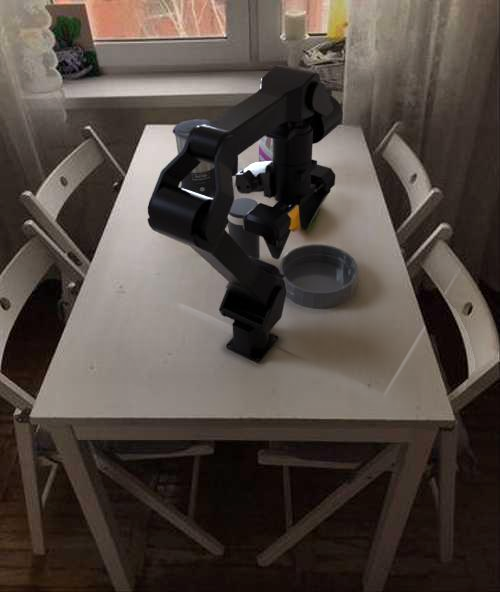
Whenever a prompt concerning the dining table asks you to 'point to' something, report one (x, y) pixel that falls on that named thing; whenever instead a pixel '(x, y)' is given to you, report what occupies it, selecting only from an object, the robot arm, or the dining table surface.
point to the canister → (236, 230)
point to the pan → (319, 275)
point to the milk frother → (204, 173)
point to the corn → (296, 221)
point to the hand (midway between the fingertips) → (290, 243)
